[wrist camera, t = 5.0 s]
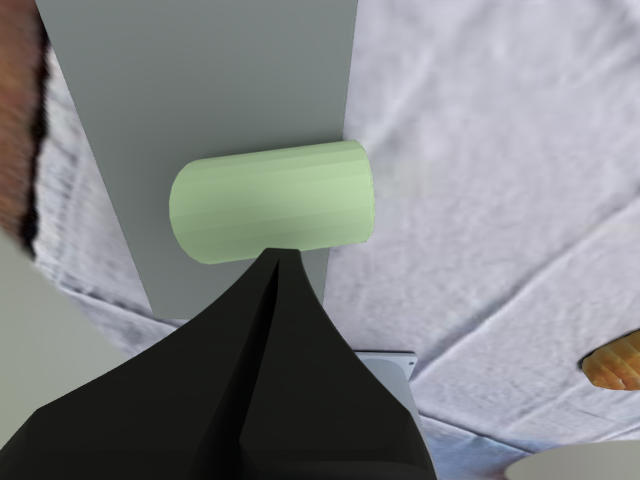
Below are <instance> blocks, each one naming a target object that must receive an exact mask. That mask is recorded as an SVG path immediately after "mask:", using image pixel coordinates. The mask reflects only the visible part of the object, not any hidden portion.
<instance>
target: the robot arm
mask: <svg viewBox="0 0 640 480" xmlns="http://www.w3.org/2000/svg"><path fill="white" fill-rule="evenodd" d="M417 360H418V358H417V355H416V354H413V353H373V352H354V351H353V350H352V349H351V347H350V346H349V345H348V344H347V342H346V341H345V340H344V339H343V337H342V336H341V335H340V333H339V332H338V330H337V329H336V327H335V326H334V325H333V323H332V322H331V320H330V319H329V317H328V315H327V314H326V312H325V311H324V309H323V307H322V305H321V304H320V302H319V300H318V298H317V296H316V294H315V292H314V290H313V288H312V286H311V284H310V281H309V279H308V277H307V274H306V272H305V269H304V266H303V262H302V258H301V251H300V250H299V249H286V248H265V249H264V250H263V251H262V253H261V254H260V255H259V256H258V258H257V259H256V260H255V261H254V262H253V263H252V265H251V266H250V267H249V268H248V269H247V270H246V271H245V272H244V273H243V274H242V275H241V276H240V277H239V278H238V279H237V281H236V282H234V283H233V284H232V285H231V286H230V287H229V288H228V289H227V290H226V291H225V292H224V293H223V294H222V295H221V296H220V297H218V298H217V299H216V300H215V301H214V302H213V303H211V304H210V305H209V306H208V307H207V308H205V309H204V310H203V311H202V312H200V313H199V314H198V315H197V316H195V317H194V318H193V319H191V320H190V321H188V322H187V323H186V324H184V325H183V326H181V327H180V328H178V329H177V330H176V331H174V332H173V333H171V334H170V335H168V336H167V337H165V338H164V339H162V340H161V341H159V342H158V343H156V344H155V345H153V346H151V347H150V348H148V349H146V350H145V351H143V352H142V353H140V354H138V355H137V356H135V357H133V358H132V359H130V360H128V361H126V362H125V363H123V364H121V365H120V366H118V367H116V368H114V369H113V370H111V371H109V372H107V373H105V374H104V375H102V376H100V377H98V378H96V379H94V380H92V381H91V382H89V383H87V384H85V385H83V386H81V387H79V388H77V389H75V390H73V391H71V392H70V393H68V394H66V395H64V396H62V397H60V398H58V399H56V400H54V401H52V402H50V403H48V404H46V405H44V406H42V407H40V408H39V409H37V410H36V411H35V412H34V413H33V414H32V415H31V416H30V417H29V418H28V419H27V421H26V422H25V423H24V424H23V425H22V426H21V427H20V428H19V429H18V431H17V432H16V433H15V434H14V435H13V436H12V437H11V439H10V440H9V441H8V442H7V443H6V444H5V445H4V447H3V448H2V449H1V450H0V480H440V477H439V474H438V471H437V468H436V465H435V462H434V459H433V456H432V453H431V450H430V447H429V444H428V441H427V438H426V435H425V432H424V429H423V426H422V423H421V420H420V417H419V414H418V411H417V408H416V405H415V402H414V399H413V396H412V393H411V390H410V387H409V384H408V380H409V378H410V375H411V373H412V371H413V369H414V367H415V365H416V363H417Z"/></svg>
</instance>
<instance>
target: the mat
mask: <svg viewBox="0 0 640 480" xmlns="http://www.w3.org/2000/svg"><path fill="white" fill-rule="evenodd" d="M35 1H36V4H37V7H38V9H39V12H40V15H41V17H42V20H43V23H44V25H45V28H46V31H47V33H48V36H49V38H50V41H51V44H52V46H53V49H54V52H55V54H56V57H57V60H58V62H59V65H60V68H61V70H62V73H63V75H64V78H65V81H66V83H67V86H68V89H69V91H70V94H71V97H72V99H73V102H74V104H75V107H76V110H77V112H78V115H79V118H80V120H81V123H82V126H83V128H84V131H85V134H86V136H87V139H88V141H89V144H90V147H91V149H92V152H93V155H94V157H95V160H96V163H97V165H98V168H99V170H100V173H101V176H102V178H103V181H104V184H105V186H106V189H107V192H108V194H109V197H110V200H111V202H112V205H113V207H114V210H115V213H116V215H117V218H118V221H119V223H120V226H121V229H122V231H123V234H124V236H125V239H126V242H127V244H128V247H129V250H130V252H131V255H132V258H133V260H134V263H135V266H136V268H137V271H138V273H139V276H140V279H141V281H142V284H143V287H144V289H145V292H146V295H147V297H148V300H149V302H150V305H151V308H152V310H153V313H154V316H155V318H160V319H193V318H194V317H195V316H197V315H198V314H199V313H200V312H202V311H203V310H204V309H205V308H207V307H208V306H209V305H210V304H211V303H213V302H214V301H215V300H216V299H217V298H218V297H220V296H221V295H222V294H223V293H224V292H225V291H226V290H227V289H228V288H229V287H230V286H231V285H232V284H233V283H234V282H236V281H237V279H238V278H239V277H240V276H241V275H242V274H243V273H244V272H245V271H246V270H247V269H248V268H249V267H250V266H251V265H252V263H253V262H254V261H255V260H256V259H257V258H251V259H244V260H238V261H231V262H224V263H217V264H204V263H200V262H198V261H196V260H195V259H193V258H191V257H190V256H189V255H188V254H187V253H186V252H185V251H184V250H183V249H182V247H181V246H180V244H179V242H178V240H177V239H176V237H175V235H174V232H173V229H172V225H171V221H170V214H169V199H170V194H171V189H172V185H173V183H174V181H175V179H176V177H177V175H178V173H179V172H180V171H181V170H182V169H183V168H184V167H185V166H186V165H187V164H188V163H191V162H193V161H195V160H199V159H207V158H215V157H223V156H230V155H238V154H246V153H254V152H262V151H270V150H277V149H285V148H293V147H301V146H309V145H317V144H324V143H332V142H340V141H342V133H343V125H344V116H345V108H346V99H347V90H348V82H349V73H350V64H351V56H352V47H353V39H354V30H355V21H356V13H357V4H358V0H35ZM328 254H329V247H327V248H320V249H313V250H306V251H301V258H302V262H303V266H304V269H305V272H306V274H307V277H308V279H309V281H310V284H311V286H312V288H313V290H314V292H315V294H316V296H317V298H318V300H319V302H320V304H321V305H323V297H324V288H325V280H326V271H327V262H328Z"/></svg>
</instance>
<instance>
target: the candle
mask: <svg viewBox="0 0 640 480" xmlns="http://www.w3.org/2000/svg"><path fill="white" fill-rule="evenodd" d="M169 214H170V221H171V225H172V229H173V232H174V235H175V237H176V239H177V240H178V242H179V244H180V246H181V247H182V249H183V250H184V251H185V252H186V253H187V254H188V255H189V256H190V257H191V258H193V259H195V260H196V261H198V262H200V263H204V264H217V263H224V262H231V261H238V260H244V259H251V258H258V256H259V255H260V254H261V253H262V251H263V250H264V249H265V248H286V249H299V250H300V251H306V250H313V249H320V248H327V247H334V246H340V245H347V244H354V243H361V242H366V241H367V240H368V239H369V238H370V236H371V234H372V231H373V227H374V218H375V200H374V187H373V180H372V174H371V169H370V165H369V161H368V158H367V155H366V152H365V150H364V148H363V146H362V145H361V144H360V143H359V142H358V141H356V140H348V141H340V142H332V143H324V144H317V145H309V146H301V147H293V148H285V149H277V150H270V151H262V152H254V153H246V154H238V155H230V156H223V157H215V158H207V159H199V160H195V161H193V162H191V163H188V164H187V165H186V166H185V167H184V168H183V169H182V170H181V171H180V172H179V173H178V175H177V177H176V179H175V181H174V183H173V185H172V189H171V194H170V199H169Z"/></svg>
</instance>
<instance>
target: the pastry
mask: <svg viewBox="0 0 640 480" xmlns="http://www.w3.org/2000/svg"><path fill="white" fill-rule="evenodd" d="M582 371H583V373H584V374H585V375H586V376H587V378H588V379H589V381H590V382H591V383H592V384H593V385H594V386H596V387H602V388H606V389H611V390H627V391H632V390H640V330H639V331H636V332H633V333H632V334H631V335H629V336H626V337H621V338H619V339H617V340H615V341H613V342H611V343H609V344H606V345H604V346H602V347H600V348H598V349H597V350H595V351H594V353H593V354H592V355H591V356H589V357H587V358H585V359H584V360H583V363H582Z"/></svg>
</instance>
